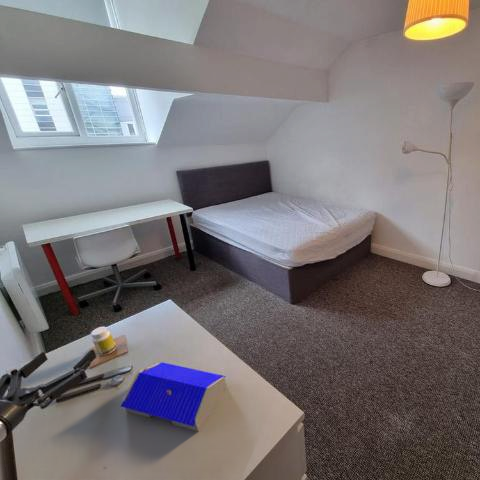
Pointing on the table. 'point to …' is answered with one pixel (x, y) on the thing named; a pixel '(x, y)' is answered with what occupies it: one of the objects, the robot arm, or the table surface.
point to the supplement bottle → (103, 341)
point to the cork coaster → (119, 350)
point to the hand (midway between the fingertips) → (69, 354)
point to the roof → (174, 394)
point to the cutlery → (113, 382)
